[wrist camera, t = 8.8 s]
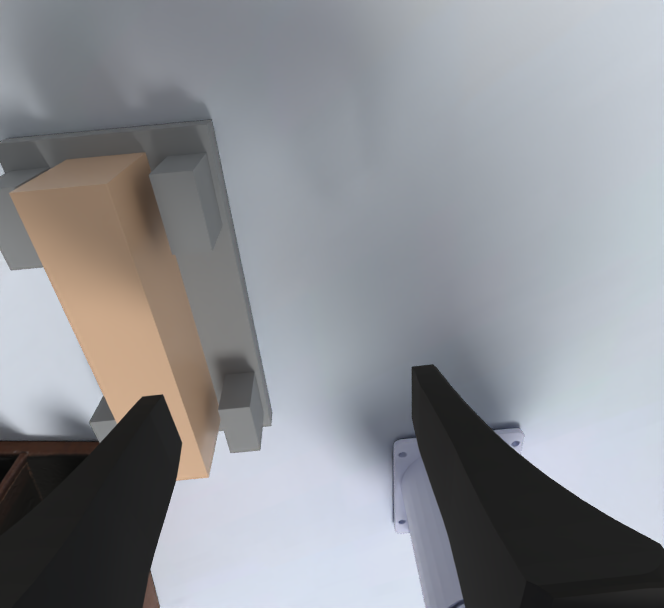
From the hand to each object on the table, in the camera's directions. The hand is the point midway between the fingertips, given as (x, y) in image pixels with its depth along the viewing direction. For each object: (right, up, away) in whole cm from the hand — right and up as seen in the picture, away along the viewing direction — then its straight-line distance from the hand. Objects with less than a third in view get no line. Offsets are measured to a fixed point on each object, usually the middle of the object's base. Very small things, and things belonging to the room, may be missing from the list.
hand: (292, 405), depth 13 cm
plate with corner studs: (-7, +3, +9) cm, 12 cm away
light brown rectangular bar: (-7, +3, +8) cm, 11 cm away
